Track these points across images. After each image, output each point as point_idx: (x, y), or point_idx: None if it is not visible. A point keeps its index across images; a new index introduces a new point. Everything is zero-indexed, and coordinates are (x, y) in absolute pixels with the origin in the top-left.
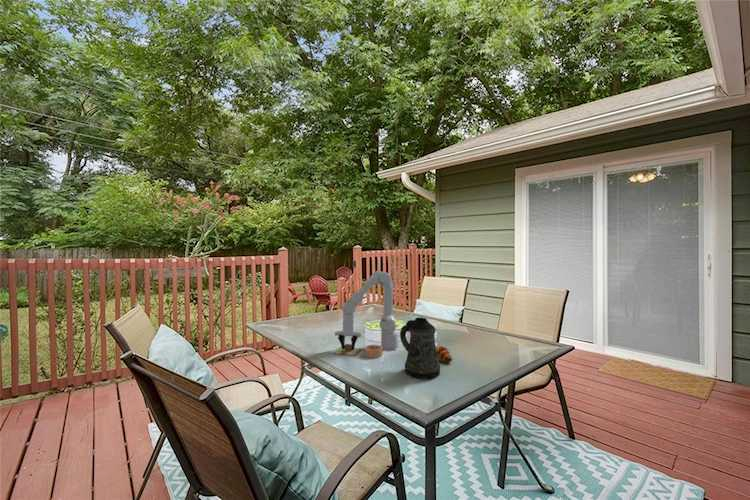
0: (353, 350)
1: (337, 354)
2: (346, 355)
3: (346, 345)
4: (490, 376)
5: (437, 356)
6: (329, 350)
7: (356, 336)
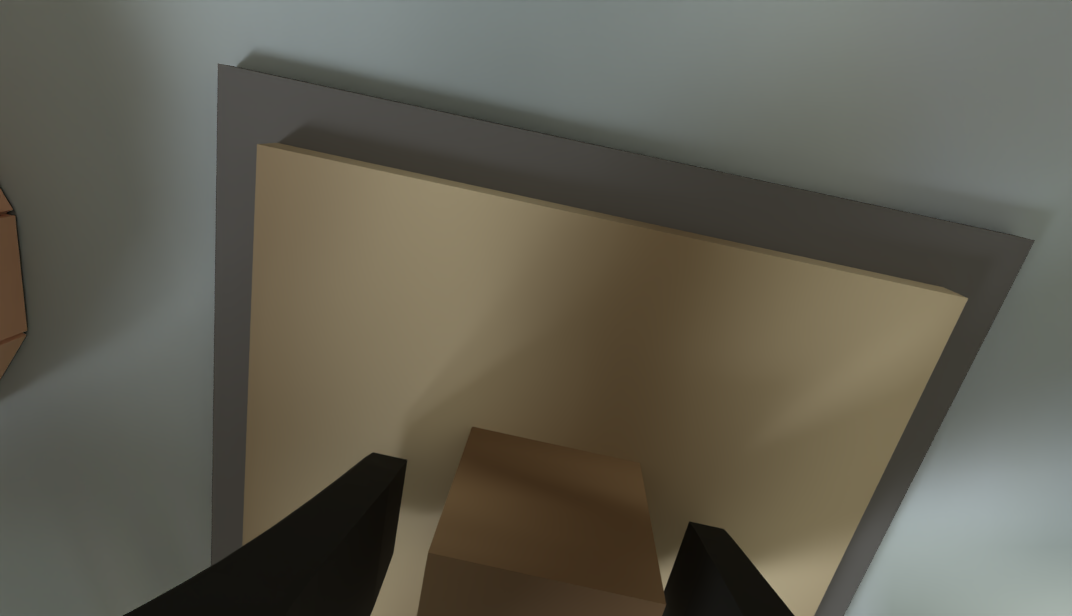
0: None
1: (855, 226)
2: (540, 142)
3: (581, 613)
4: None
5: None
6: (1067, 601)
7: None
